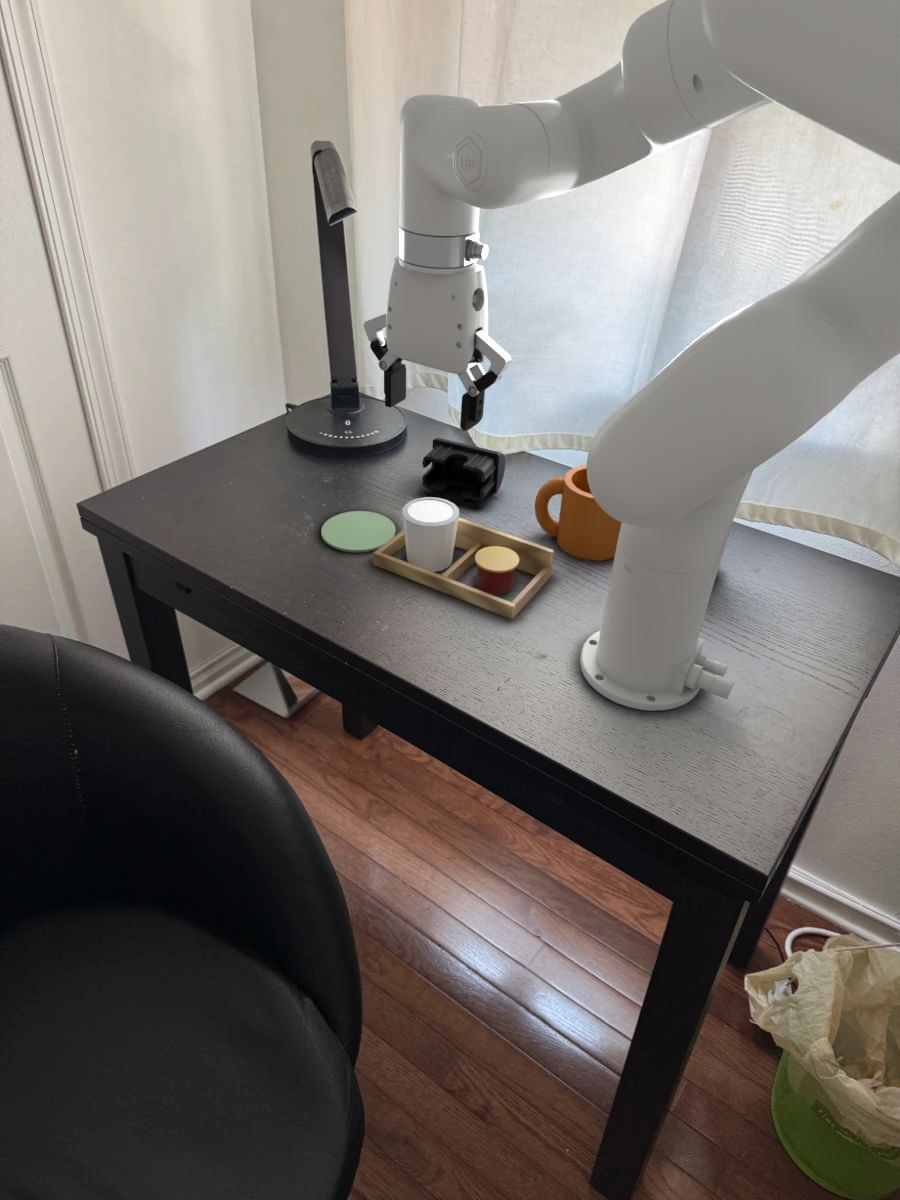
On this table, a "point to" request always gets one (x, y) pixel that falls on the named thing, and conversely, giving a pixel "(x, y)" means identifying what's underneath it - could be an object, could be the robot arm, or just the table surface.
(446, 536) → the shot glass
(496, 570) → the coffee pod
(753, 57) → the robot arm
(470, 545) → the pod caddy
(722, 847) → the table surface
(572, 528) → the mug
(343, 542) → the coaster
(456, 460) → the end cap
